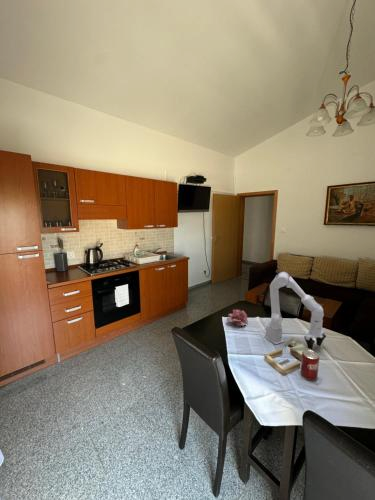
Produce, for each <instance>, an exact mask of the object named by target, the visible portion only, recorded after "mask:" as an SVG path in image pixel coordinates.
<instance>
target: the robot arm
mask: <svg viewBox="0 0 375 500" xmlns="http://www.w3.org/2000/svg"><path fill="white" fill-rule="evenodd" d="M284 287H285V288H289V289H292V290H293V291H294V292H295V293H296V294H297V295H298V296H299V297H300V299H301V303H302V304H303V305H304V306H305V307H306V309H308V310H309V311H310V314H311V317H310V324H309V327H310V328H309V332H307V334H305V335H304V336H303V339H304V341H305V342H306V345H307V346H306V347H308V348H309V349H311V350H313V347H314V344H315V343H316V345H317V346H318V347H321V346H322V344H323V342H324V341H325V339H326V338H327V335H326V330H325V329H323V322H324V319H323V318H324V315H325V314H324V308H323V306H322V305H321V304H319V303H318V302H317V301H316V300H315V299H314V298H315V297H313V296H311V295H310V294H306V293H305V292H304V290H303V289H302V288H301V287H300V285H298V283H297V282H296V281H295V280H294V279H293V277H292V275H289V273H288V272H286V271H281V272H279V273H278V274H276V275H275V277H274V279H273V280H272V281H271V282H270V284H269V295H270V307H271V308H270V309H271V317H270V318H271V319H270V322H269V323H267V324H266V326H265V335H264V338H266V339H267V340H268V341H270V342H271V343H272V344H274V345H275V346H276V345H279V344H281V343H284V342H285V341H286V340H285V339H284V338H283V326H282V322H283V317H282V314H281V309H280V295H279V289H281V288H284ZM314 339H315V340H314Z"/></svg>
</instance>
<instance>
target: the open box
mask: <svg viewBox="0 0 375 500" xmlns="http://www.w3.org/2000/svg"><path fill="white" fill-rule="evenodd" d="M305 350H311V349H309V348H308V346H306V345H305V344H303V343H299V344H297V345H294V346H292V347H290V348H289V353H291V355H293V356H294V357H296V358H297V359H299V360H300V361H302V352H303V351H305ZM311 351H314V350H313V349H312V350H311Z"/></svg>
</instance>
